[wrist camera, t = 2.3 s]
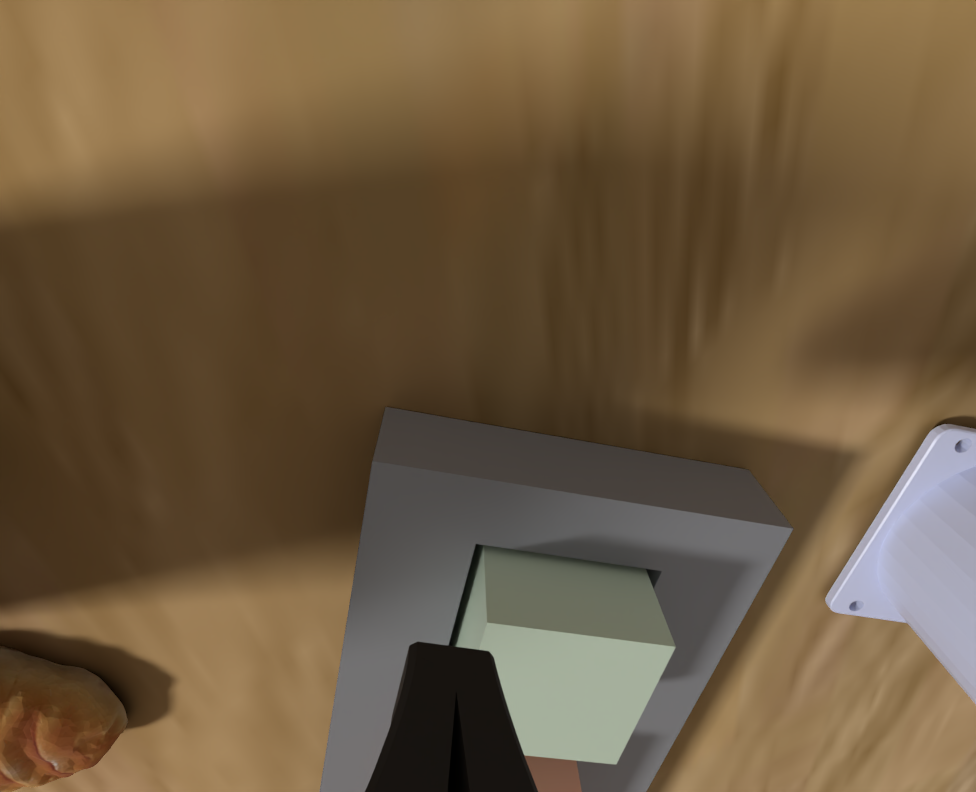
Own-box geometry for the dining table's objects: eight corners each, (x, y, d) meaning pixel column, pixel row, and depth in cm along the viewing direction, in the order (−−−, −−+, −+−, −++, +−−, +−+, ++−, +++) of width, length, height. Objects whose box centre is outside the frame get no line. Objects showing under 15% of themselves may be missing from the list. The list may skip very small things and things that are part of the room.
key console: (748, 469, 20) (793, 528, 17) (545, 882, 31) (553, 956, 28) (385, 406, 18) (372, 460, 16) (310, 865, 30) (295, 942, 27)
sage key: (635, 543, 19) (675, 646, 16) (590, 651, 21) (616, 764, 18) (482, 519, 18) (487, 622, 15) (451, 634, 21) (449, 748, 17)
